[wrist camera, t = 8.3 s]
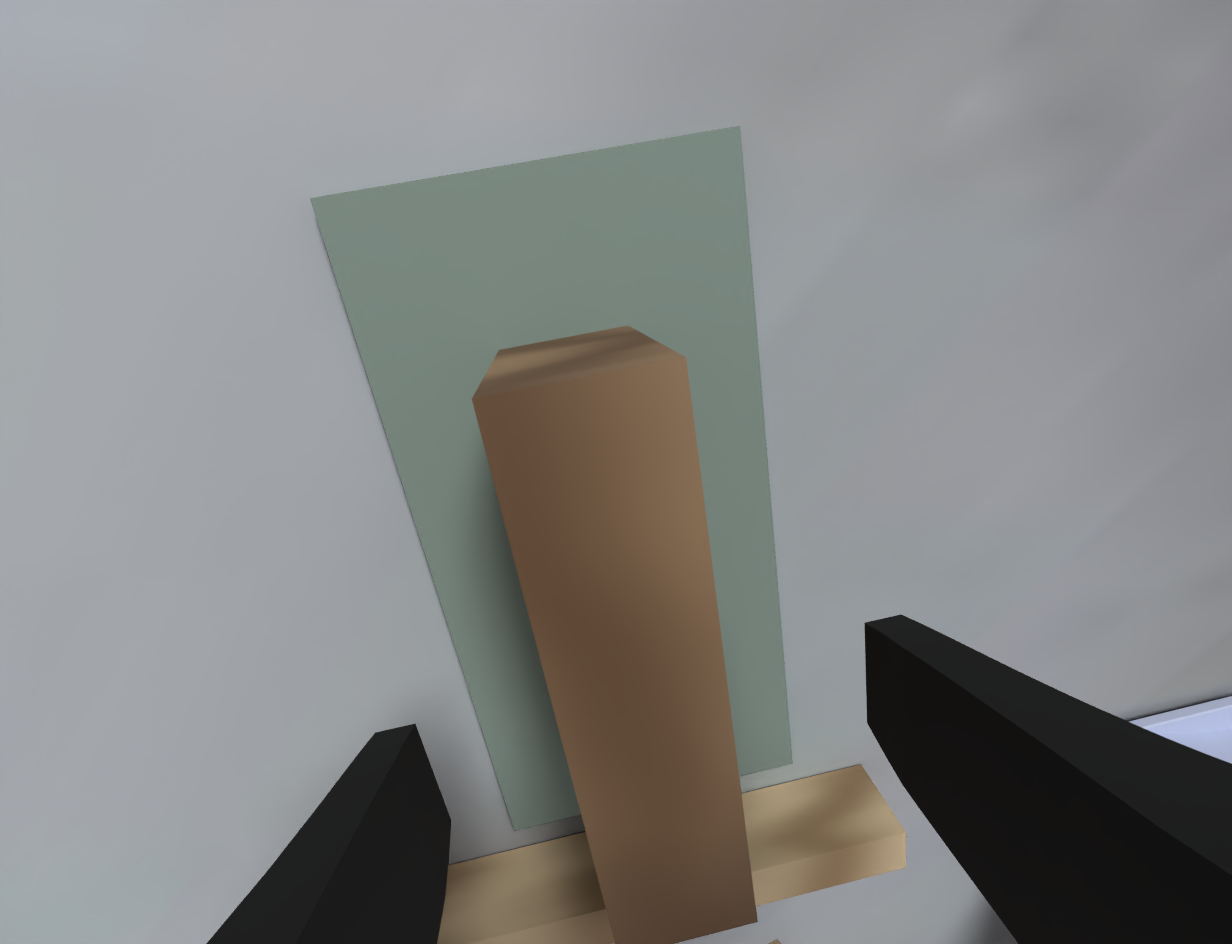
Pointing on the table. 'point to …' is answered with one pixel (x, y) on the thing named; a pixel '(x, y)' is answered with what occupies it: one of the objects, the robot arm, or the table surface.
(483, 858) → the oak rack
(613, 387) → the tall brown wooden post
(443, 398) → the rubber mat
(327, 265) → the table surface
